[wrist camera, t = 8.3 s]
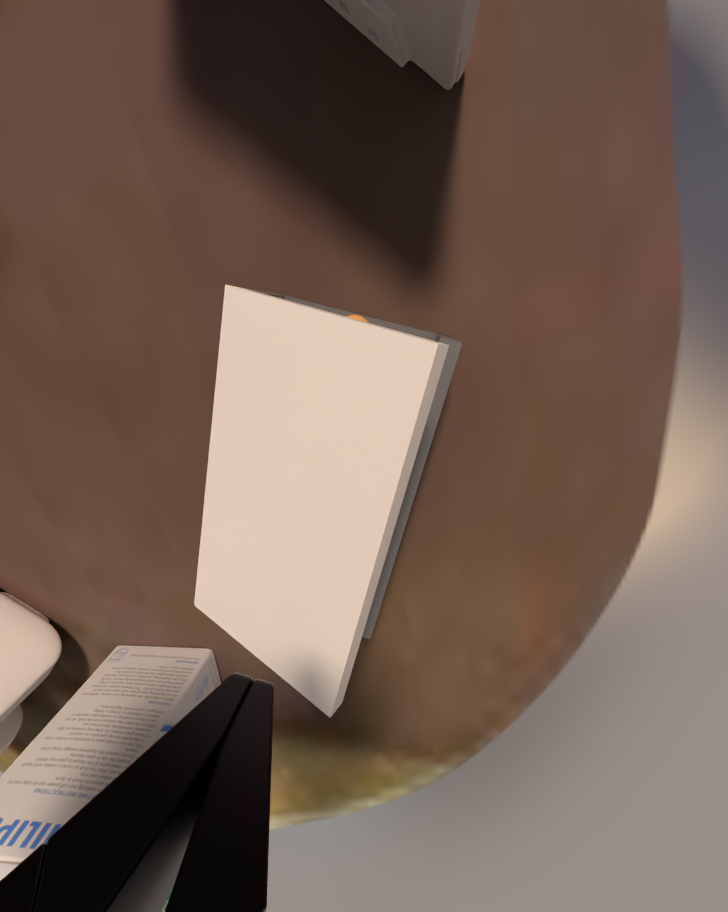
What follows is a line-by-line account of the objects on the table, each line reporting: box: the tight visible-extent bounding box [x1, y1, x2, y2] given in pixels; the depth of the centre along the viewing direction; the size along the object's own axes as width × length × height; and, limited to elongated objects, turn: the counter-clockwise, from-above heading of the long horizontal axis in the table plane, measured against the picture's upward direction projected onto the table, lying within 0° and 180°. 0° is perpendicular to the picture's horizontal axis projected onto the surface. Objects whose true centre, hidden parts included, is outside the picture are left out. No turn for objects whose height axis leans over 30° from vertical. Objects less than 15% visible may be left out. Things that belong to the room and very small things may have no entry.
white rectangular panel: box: [194, 285, 449, 717], centre depth 15 cm, size 8×14×1 cm, turn 168°
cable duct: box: [248, 289, 462, 639], centre depth 18 cm, size 8×14×3 cm, turn 167°
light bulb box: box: [0, 645, 221, 912], centre depth 22 cm, size 11×7×11 cm, turn 5°
